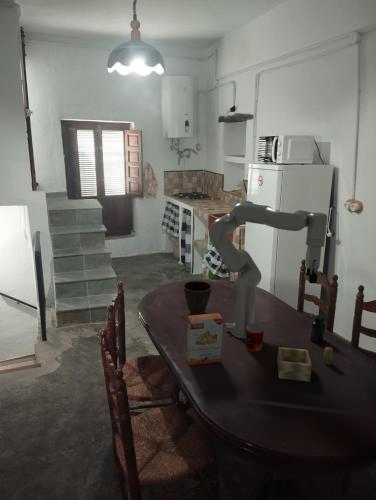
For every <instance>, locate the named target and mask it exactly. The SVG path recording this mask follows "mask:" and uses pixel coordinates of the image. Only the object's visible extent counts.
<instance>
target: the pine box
mask: <svg viewBox="0 0 376 500" xmlns="http://www.w3.org/2000/svg"><path fill="white" fill-rule="evenodd" d="M277 348H278V349H277V359H276V366H277V372H278V373H277V374H278V379H284V380H293V381H294V380H295V381H299V382H300V381H303V382H311V375H312V368H313V367H312V366H313V365H312V361H311V358H310V352H309V350H308V349H304V348H303V349H302V348H292V347H282V346H281V347H280V346H278V347H277ZM298 362H300V363H298Z"/></svg>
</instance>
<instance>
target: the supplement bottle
mask: <svg viewBox="0 0 376 500" xmlns="http://www.w3.org/2000/svg"><path fill="white" fill-rule="evenodd" d="M325 319H326V318H325V316H323V315H320V314H319V315H318V314H317V315H314V317H313V321H311V323H310V331H309V341H311V342H312V343H314V344H315V343H317V344H322V343H324V342H325V336H326V332H327V331H326V330H327V323H326V322H325V321H326V320H325Z"/></svg>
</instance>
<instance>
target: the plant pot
mask: <svg viewBox="0 0 376 500" xmlns="http://www.w3.org/2000/svg"><path fill="white" fill-rule="evenodd" d="M183 290H184V296H185V301H186V304H187V307H188V310H189V313H190V314H191V315H203V314H205V311H206V309H207V307H208V303H209V300H210V297H211V293H212V284H211V283H209V282H206V281H201V280H200V281H199V280H195V281H194V280H192V281H188V282H187V283H184V285H183Z"/></svg>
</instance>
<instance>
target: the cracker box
mask: <svg viewBox="0 0 376 500" xmlns="http://www.w3.org/2000/svg"><path fill="white" fill-rule="evenodd" d="M223 329H224V318H223V316H221V314H220V312H218V313H216V312H215V313H207V314H206V313H204V314H203V315H192V314H191V315H187V337H186V338H187V341H186V344H187V345H186V360H187V363H188V365H189V367H190V366H197V365H207V364H215V363H221V361H222V360H221V359H222V345H223V331H224V330H223Z"/></svg>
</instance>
